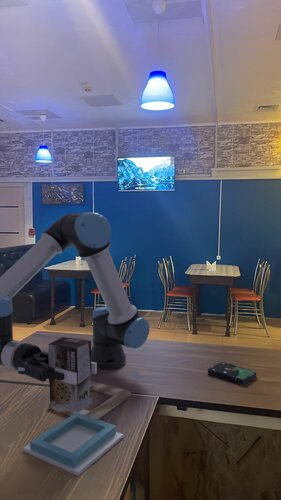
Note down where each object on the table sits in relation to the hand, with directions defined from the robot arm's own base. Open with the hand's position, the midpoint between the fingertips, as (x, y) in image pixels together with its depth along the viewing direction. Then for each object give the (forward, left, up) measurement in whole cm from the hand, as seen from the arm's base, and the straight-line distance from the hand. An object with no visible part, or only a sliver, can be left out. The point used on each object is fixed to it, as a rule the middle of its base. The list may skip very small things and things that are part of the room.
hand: (86, 373), depth 92 cm
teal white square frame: (-5, +1, -20) cm, 20 cm away
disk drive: (+16, +64, -21) cm, 69 cm away
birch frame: (-16, +21, -20) cm, 33 cm away
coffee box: (-5, 0, -9) cm, 11 cm away
